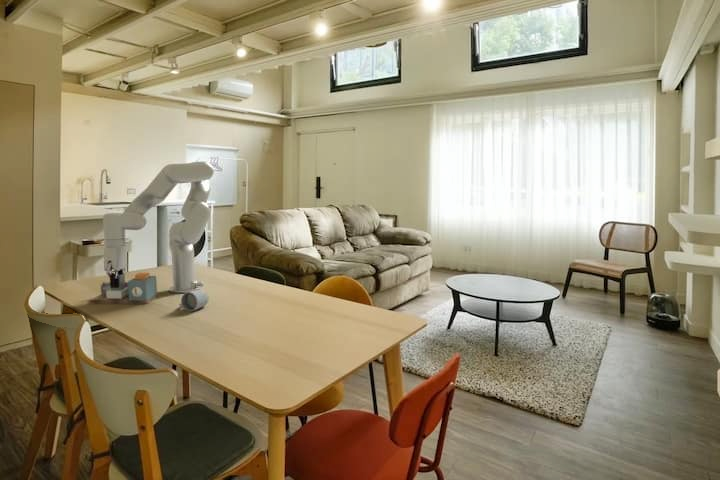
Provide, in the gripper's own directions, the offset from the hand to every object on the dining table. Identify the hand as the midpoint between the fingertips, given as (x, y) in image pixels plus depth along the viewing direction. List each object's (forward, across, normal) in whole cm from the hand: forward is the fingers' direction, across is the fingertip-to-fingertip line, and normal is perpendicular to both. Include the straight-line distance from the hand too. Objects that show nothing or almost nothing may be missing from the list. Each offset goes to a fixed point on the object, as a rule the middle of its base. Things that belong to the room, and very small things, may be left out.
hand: (117, 285), depth 178 cm
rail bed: (+6, 0, +3) cm, 7 cm away
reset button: (-2, 0, +10) cm, 11 cm away
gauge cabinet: (+5, 0, +10) cm, 11 cm away
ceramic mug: (+7, +11, +34) cm, 37 cm away
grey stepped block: (+4, 0, 0) cm, 4 cm away
